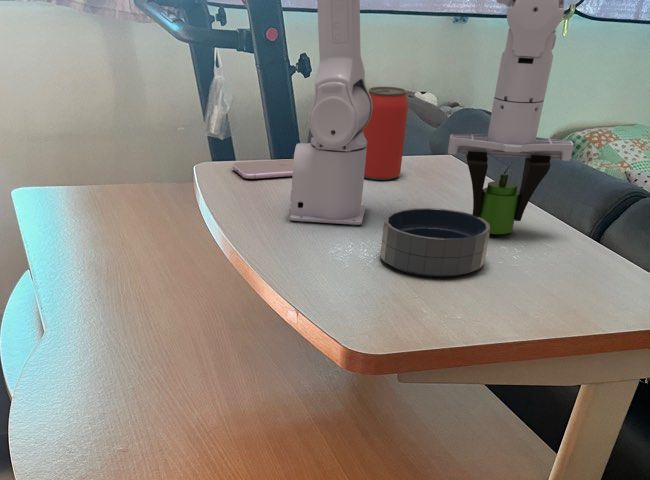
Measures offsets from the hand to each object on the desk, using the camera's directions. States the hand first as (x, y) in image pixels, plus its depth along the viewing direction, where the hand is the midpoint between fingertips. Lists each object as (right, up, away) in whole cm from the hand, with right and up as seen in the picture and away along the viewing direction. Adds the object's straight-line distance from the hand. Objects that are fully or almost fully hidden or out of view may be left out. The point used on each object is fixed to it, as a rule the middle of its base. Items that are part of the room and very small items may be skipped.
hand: (495, 217), depth 106 cm
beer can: (-11, +16, +24) cm, 31 cm away
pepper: (0, -1, +1) cm, 1 cm away
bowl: (-10, -8, -8) cm, 15 cm away
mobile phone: (-26, +17, +25) cm, 40 cm away
